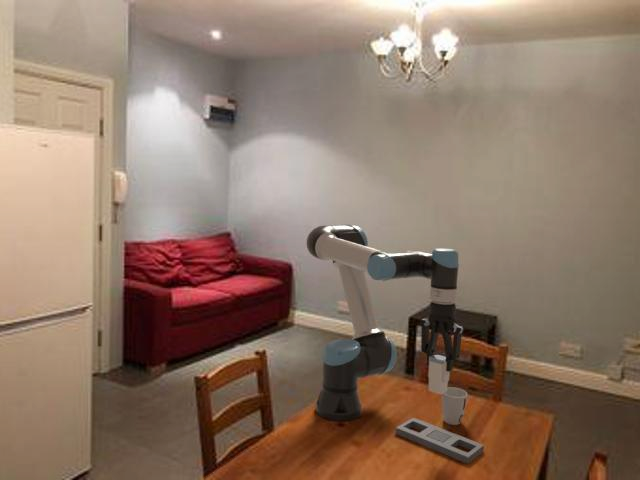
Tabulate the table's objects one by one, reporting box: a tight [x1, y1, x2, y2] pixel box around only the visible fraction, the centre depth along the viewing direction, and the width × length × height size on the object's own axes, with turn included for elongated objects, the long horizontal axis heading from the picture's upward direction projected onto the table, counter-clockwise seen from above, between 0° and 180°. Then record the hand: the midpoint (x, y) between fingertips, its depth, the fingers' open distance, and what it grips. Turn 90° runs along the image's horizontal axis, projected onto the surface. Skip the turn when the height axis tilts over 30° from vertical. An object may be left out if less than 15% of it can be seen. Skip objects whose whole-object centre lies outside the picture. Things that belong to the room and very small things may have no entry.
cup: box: [441, 386, 468, 426], centre depth 179 cm, size 8×8×10 cm
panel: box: [395, 417, 485, 465], centre depth 165 cm, size 24×10×2 cm, turn 49°
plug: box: [428, 354, 449, 395], centre depth 163 cm, size 4×4×10 cm
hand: (438, 378), depth 163 cm, fingers closed on plug, 4 cm apart
